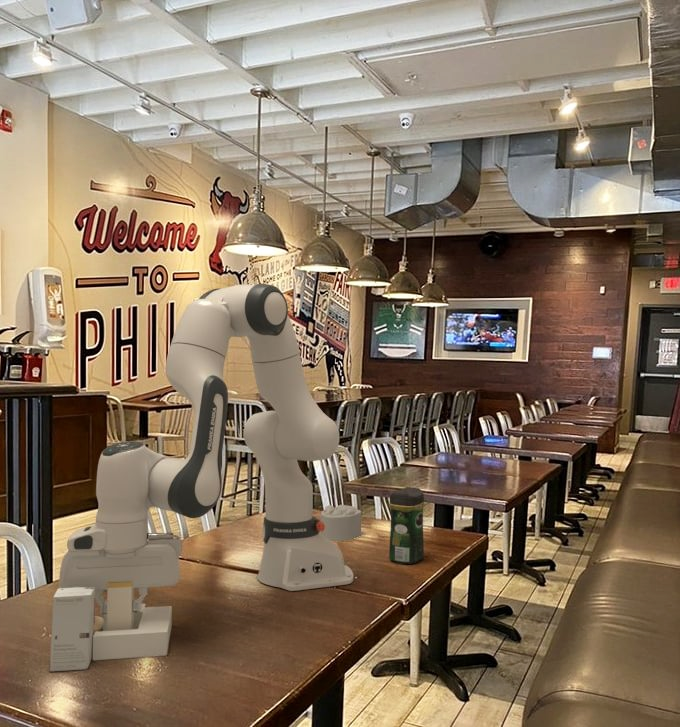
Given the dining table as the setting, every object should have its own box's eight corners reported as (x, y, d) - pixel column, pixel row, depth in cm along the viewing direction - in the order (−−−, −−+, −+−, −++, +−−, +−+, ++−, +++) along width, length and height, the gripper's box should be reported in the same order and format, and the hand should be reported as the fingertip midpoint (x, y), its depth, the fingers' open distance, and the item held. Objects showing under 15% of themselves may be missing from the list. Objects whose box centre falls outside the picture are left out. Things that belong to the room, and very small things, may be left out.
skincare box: (49, 673, 102) (50, 597, 102) (54, 660, 106) (56, 587, 107) (89, 669, 104) (91, 594, 104) (94, 657, 108) (95, 585, 108)
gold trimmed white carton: (133, 629, 116) (134, 574, 116) (130, 639, 112) (131, 582, 112) (110, 631, 115) (111, 575, 115) (106, 641, 111) (107, 583, 111)
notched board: (172, 623, 123) (172, 602, 123) (166, 655, 109) (167, 631, 109) (106, 626, 120) (106, 605, 120) (92, 660, 107) (93, 636, 107)
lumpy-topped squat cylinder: (365, 534, 190) (366, 505, 190) (340, 544, 180) (341, 513, 180) (337, 529, 196) (337, 501, 196) (311, 538, 186) (311, 508, 186)
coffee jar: (400, 552, 172) (401, 483, 172) (427, 557, 168) (428, 487, 168) (383, 561, 164) (385, 489, 164) (412, 567, 160) (413, 492, 160)
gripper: (183, 527, 118) (181, 602, 118) (65, 531, 114) (64, 608, 114) (181, 536, 112) (180, 615, 112) (57, 541, 108) (56, 622, 108)
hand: (120, 612), depth 113 cm, fingers closed on gold trimmed white carton, 4 cm apart
